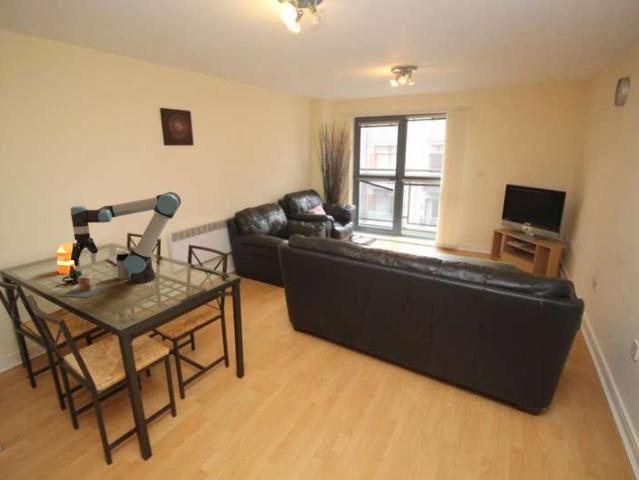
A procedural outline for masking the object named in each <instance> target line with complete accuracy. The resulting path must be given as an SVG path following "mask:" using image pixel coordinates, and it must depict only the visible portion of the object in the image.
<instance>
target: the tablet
mask: <svg viewBox="0 0 639 480" xmlns="http://www.w3.org/2000/svg"><path fill="white" fill-rule="evenodd" d="M116 257H117V254H116V255H112V256H107V257H106V259H107V261H108V260H110V261H111V262H110V261H109V262H110V263H112V262H113V263H112V264H114V265H116V266H117V260H116Z"/></svg>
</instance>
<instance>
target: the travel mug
mask: <svg viewBox="0 0 639 480" xmlns="http://www.w3.org/2000/svg"><path fill="white" fill-rule="evenodd" d="M115 253H116V255H117V257H116V260H117V265H116V268H117V276H118V279H119V280H128V279H130V277H131V272H129V271H128V270H126V268H125V266H124V262H125V259H126V258H127V257H128V255H129V254H130V250H120V251H117V252H115Z"/></svg>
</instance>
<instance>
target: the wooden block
mask: <svg viewBox="0 0 639 480" xmlns="http://www.w3.org/2000/svg"><path fill="white" fill-rule="evenodd" d="M77 282H78V287H79V289H80V290H90V291H91V290H93V289H95V287H96V283H95V275H84V274H82V276H80V277H78V281H77Z"/></svg>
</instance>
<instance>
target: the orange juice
mask: <svg viewBox="0 0 639 480" xmlns="http://www.w3.org/2000/svg"><path fill="white" fill-rule="evenodd" d="M72 248H73V243H72V242H71V241H69V242H66V243H63V244H60V245H59V246H58V248H57V250H56V253H55V254H56V261H57V267H58V268H57V269H58V273H59V274H70V273H69V270H70V266H74V269H75V265H74V261H73V260H70V258H71V253H72Z"/></svg>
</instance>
